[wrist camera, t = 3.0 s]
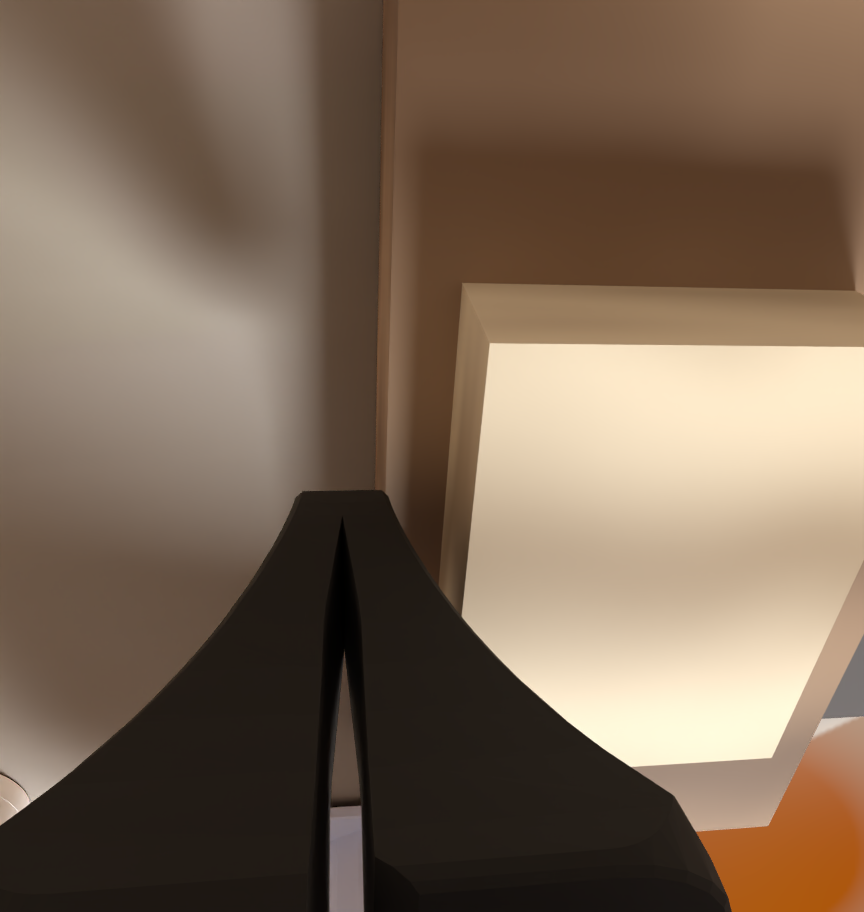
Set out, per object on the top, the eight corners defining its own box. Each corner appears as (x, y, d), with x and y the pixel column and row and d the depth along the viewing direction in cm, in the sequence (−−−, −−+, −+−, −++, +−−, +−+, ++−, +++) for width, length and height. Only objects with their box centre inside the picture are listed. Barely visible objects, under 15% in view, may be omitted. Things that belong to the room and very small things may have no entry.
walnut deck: (708, 713, 21) (768, 826, 18) (370, 732, 20) (375, 855, 17) (978, -5, 12) (1185, -12, 9) (384, -51, 11) (400, -74, 8)
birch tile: (718, 664, 15) (771, 757, 13) (431, 679, 14) (445, 778, 12) (855, 290, 11) (962, 347, 9) (462, 283, 10) (489, 343, 8)
